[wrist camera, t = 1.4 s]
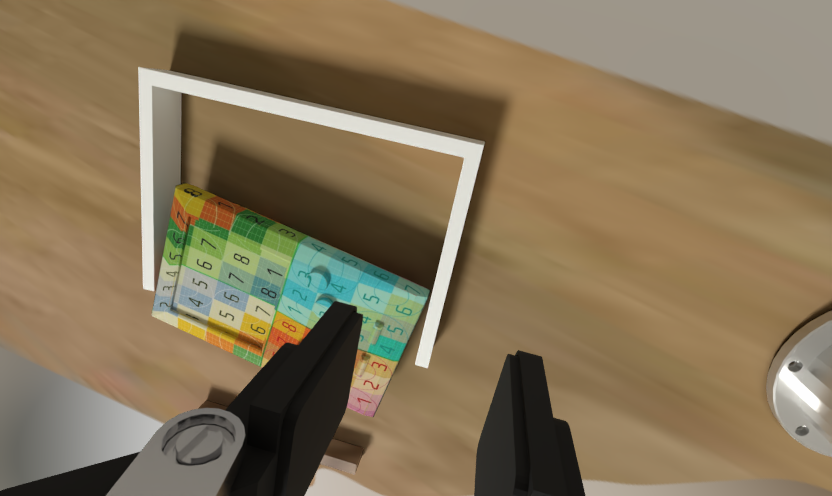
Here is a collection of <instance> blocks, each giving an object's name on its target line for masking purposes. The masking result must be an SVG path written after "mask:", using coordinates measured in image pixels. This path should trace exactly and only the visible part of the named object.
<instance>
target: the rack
mask: <svg viewBox="0 0 832 496" xmlns="http://www.w3.org/2000/svg"><path fill="white" fill-rule="evenodd" d="M138 70H139V117H140V164H141V212H142V259H143V289H147V290H151V291H156V289H157V283H158V278H159V273H160V267H161V262H162V256H163V251H164V246H165V240H166V235H167V229H168V224H169V219H170V213H171V208H172V202H173V197H174V192H175V186H176V185H179V184H181V102H182V93H186V94H190V95H195V96H199V97H203V98H208V99H212V100H216V101H221V102H225V103H229V104H234V105H238V106H242V107H247V108H251V109H256V110H260V111H264V112H269V113H273V114H277V115H282V116H286V117H290V118H295V119H299V120H303V121H308V122H312V123H316V124H321V125H325V126H329V127H334V128H338V129H342V130H347V131H351V132H355V133H360V134H364V135H368V136H373V137H377V138H381V139H386V140H390V141H394V142H399V143H403V144H407V145H412V146H416V147H420V148H425V149H429V150H433V151H438V152H442V153H447V154H451V155H455V156H460V157H464V162H463V167H462V171H461V175H460V179H459V183H458V187H457V192H456V196H455V200H454V204H453V208H452V212H451V217H450V221H449V225H448V229H447V233H446V237H445V242H444V246H443V250H442V254H441V258H440V262H439V267H438V271H437V275H436V279H435V283H434V287H433V292H432V296H431V300H430V304H429V308H428V312H427V317H426V321H425V325H424V329H423V333H422V337H421V342H420V346H419V350H418V354H417V358H416V362H415V365H418V366H421V367H425V368H428V365H429V361H430V357H431V353H432V349H433V345H434V341H435V337H436V333H437V329H438V325H439V321H440V318H441V314H442V310H443V306H444V302H445V298H446V294H447V290H448V286H449V282H450V278H451V274H452V270H453V266H454V262H455V258H456V254H457V250H458V246H459V242H460V239H461V235H462V231H463V227H464V223H465V219H466V215H467V211H468V207H469V203H470V199H471V195H472V191H473V187H474V183H475V179H476V175H477V171H478V167H479V163H480V160H481V156H482V152H483V148H484V144H485V141H480V140H476V139H471V138H467V137H463V136H458V135H454V134H449V133H445V132H440V131H436V130H431V129H427V128H423V127H418V126H414V125H409V124H405V123H400V122H396V121H392V120H387V119H383V118H378V117H374V116H369V115H365V114H361V113H356V112H352V111H347V110H343V109H338V108H334V107H330V106H325V105H321V104H316V103H312V102H307V101H303V100H299V99H294V98H290V97H285V96H281V95H276V94H272V93H268V92H263V91H259V90H254V89H250V88H245V87H241V86H237V85H232V84H228V83H223V82H219V81H214V80H210V79H205V78H201V77H197V76H192V75H188V74H183V73H179V72H174V71H170V70H161V69H151V68H142V67H138Z"/></svg>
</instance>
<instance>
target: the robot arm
mask: <svg viewBox="0 0 832 496" xmlns="http://www.w3.org/2000/svg"><path fill="white" fill-rule="evenodd" d="M362 322H363V314H360V313H357V306H353V305H349V304H346V303H342V302H338V301H334V302H333V303H332V305H331V306H330V307H329V308H328V310H327V311H326V312H325V313H324V314H323V316H322V317H321V318H320V319H319V321H318V322H317V323H316V324H315V325H314V327H313V328H312V329H311V330H310V332H309V333H308V334H307V335H306V336H305V338H304V339H303V340H302V341H301V343H300V344H299V345H296V344H292V343H289V342H288V343H285V344H284V345H282V346H281V347H280V349H279V350H278V351H277V352H276V353H275V354H274V355H273V357H272V358H271V359H270V360H269V361H268V362H267V363H266V364H265V366H264V367H263V368H262V369H261V370H260V371H259V372H258V373H257V375H256V376H255V377H254V378H253V379H252V380H251V381H250V383H249V384H248V385H247V386H246V387H245V388H244V389H243V390H242V392H241V393H240V394H239V395H238V396H237V397H236V398H235V400H234V401H233V402H232V403H231V404H230V405H229V406H228V407H227V409H226V410H222V409H217V408H201V409H194V410H190V411H187V412H184V413H182V414H179V415H177V416H175V417H174V418H172V419H170V420H169V421H167V422H166V423H165V424H164V425H163V426H162V427H161V428H160V429H159V430H157V432H156V433H155V434H154V435H153V437H152V438H151V439H150V441H149V442H148V443H147V444H146V446H145V447H144V448H143V449H142V451H141V452H138V453H134V454H131V455H127V456H123V457H120V458H116V459H112V460H109V461H105V462H102V463H98V464H94V465H91V466H87V467H84V468H80V469H76V470H73V471H69V472H66V473H62V474H59V475H55V476H51V477H47V478H44V479H40V480H37V481H33V482H30V483H26V484H22V485H18V486H15V487H11V488H8V489H5V490H2V491H0V496H304V495H305V493H306V491H307V489H308V487H309V485H310V483H311V481H312V479H313V477H314V475H315V473H316V471H317V469H318V467H319V465H320V463H321V461H322V458H323V456H324V454H325V452H326V450H327V448H328V446H329V444H330V442H331V440H332V438H333V436H334V434H335V432H336V430H337V428H338V426H339V424H340V422H341V420H342V418H343V415H344V413H345V410H346V407H347V404H348V399H349V394H350V388H351V383H352V377H353V372H354V366H355V361H356V355H357V350H358V344H359V339H360V333H361V328H362ZM766 391H767V399H768V403H769V406H770V408H771V411H772V413H773V415H774V416H775V418H776V419H777V420H778V422H779V423H780V424H781V426H782V427H783V428H784V429H785V430H786V431H787V432H788V433H789V434H790V436H792V437H793V438H794V439H795V440H797V441H798V442H800V443H801V444H802V445H804V446H805V447H807V448H809V449H811V450H813V451H816V452H818V453H820V454H822V455H826V456H830V457H832V311H829V312H827V313H825V314H823V315H821V316H819V317H818V318H816V319H814V320H812V321H810V322H809V323H807V324H806V325H805V326H803V327H802V328H801V329H799V330H798V331H797V332H795V333H794V334H793V335H792V336H791V337H790V338H789V340H788V341H787V342H786V343H785V344H784V345H783V346H782V347H781V349H780V350H779V352H778V353H777V355H776V356H775V358H774V359H773V362H772V365H771V367H770V370H769V372H768V377H767V385H766ZM474 496H585V492H584V488H583V483H582V479H581V475H580V470H579V466H578V462H577V457H576V453H575V448H574V444H573V440H572V435H571V431H570V427H569V425H568V423H567V422H566V421H563V420H560V419H556V418H553V414H552V409H551V403H550V398H549V392H548V387H547V381H546V376H545V370H544V365H543V360H542V357H541V356H537V355H534V354H530V353H526V352H523V351H519V350H518V351H517V353H516V355H515V356H514V355H511V354H508V355H507V357H506V360H505V363H504V366H503V369H502V372H501V375H500V378H499V381H498V384H497V387H496V390H495V393H494V397H493V400H492V403H491V406H490V409H489V412H488V415H487V418H486V421H485V424H484V427H483V430H482V433H481V436H480V440H479V444H478V448H477V456H476V475H475V493H474Z"/></svg>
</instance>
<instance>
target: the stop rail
mask: <svg viewBox="0 0 832 496" xmlns="http://www.w3.org/2000/svg"><path fill="white" fill-rule="evenodd" d="M201 408H217V409H222V410H226V409H227V407H226V406H223V405H220V404H216V403H213V402H210V401H207V400H206V401H205V402H204V403H203V404H202V405H201V406H200V407H199V408H198V409H201ZM362 451H363V448H361V447H358V446H355V445H351V444H348V443H345V442H342V441H338V440H335V439H332V440H331V442H330V444H329V446H328V448H327V450H326V452H325V454H324V456H323V458H322V461H321V463H320V464H322V465H325V466H328V467H332V468H335V469H338V470H341V471H344V472H348V473H351V474H354V475H355V473H356V470H357V467H358V465H359V462H360V460H361V456H362Z"/></svg>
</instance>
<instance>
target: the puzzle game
mask: <svg viewBox="0 0 832 496" xmlns="http://www.w3.org/2000/svg"><path fill="white" fill-rule="evenodd" d="M429 294H430V290H429V289H427V288H425V287H423V286H421V285H418V284H416V283H414V282H412V281H409V280H407V279H405V278H403V277H400V276H398V275H396V274H394V273H391V272H389V271H387V270H385V269H382V268H380V267H378V266H376V265H373V264H371V263H369V262H367V261H364V260H362V259H360V258H358V257H355V256H353V255H351V254H348V253H346V252H344V251H342V250H339V249H337V248H335V247H333V246H330V245H328V244H326V243H324V242H321V241H319V240H317V239H315V238H312V237H310V236H308V235H306V234H303V233H301V232H299V231H297V230H294V229H292V228H290V227H288V226H285V225H283V224H281V223H279V222H276V221H274V220H272V219H269V218H267V217H265V216H263V215H260V214H258V213H256V212H254V211H251V210H249V209H247V208H245V207H242V206H240V205H238V204H234V203H232V202H230V201H227V200H225V199H223V198H221V197H218V196H216V195H214V194H212V193H209V192H207V191H205V190H202V189H200V188H198V187H196V186H193V185H190V184H187V183H183V184H179V185H176V186H175V192H174V197H173V202H172V208H171V213H170V219H169V224H168V229H167V235H166V240H165V246H164V251H163V256H162V262H161V267H160V273H159V278H158V283H157V289H156V294H155V299H154V305H153V310H152V316H153V317H155V318H157V319H160V320H162V321H164V322H166V323H168V324H170V325H173V326H175V327H177V328H179V329H181V330H183V331H185V332H188V333H190V334H192V335H194V336H196V337H198V338H200V339H202V340H205V341H207V342H209V343H211V344H213V345H215V346H217V347H220V348H222V349H224V350H226V351H228V352H230V353H232V354H234V355H237V356H239V357H241V358H243V359H245V360H247V361H249V362H252V363H254V364H256V365H258V366H260V367H262V368H263V367H264V366H265V364H266V363H267V362H268V361H269V360H270V359H271V358H272V357H273V355H274V354H275V353H276V352H277V351H278V350H279V349H280V347H281V346H282V345H284V344H285V343H288V342H289V343H292V344H296V345H299V344H300V343H301V341H302V340H303V339H304V338H305V336H306V335H307V334H308V333H309V332H310V330H311V329H312V328H313V327H314V325H315V324H316V323H317V322H318V321H319V319H320V318H321V317H322V316H323V314H324V313H325V312H326V311H327V310H328V308H329V307H330V306H331V305H332V303H333V302H334V301H338V302H342V303H346V304H349V305H353V306H357V313H360V314H363V322H362V328H361V333H360V339H359V344H358V350H357V355H356V361H355V366H354V372H353V377H352V383H351V388H350V394H349V399H348V404H347V407H348V408H350V409H352V410H354V411H356V412H358V413H361V414H363V415H366V416H371V417H374V415H375V413H376V411H377V409H378V406H379V404H380V402H381V400H382V398H383V396H384V393H385V391H386V389H387V387H388V385H389V382H390V380H391V378H392V376H393V374H394V372H395V369H396V367H397V365H398V363H399V361H400V358H401V356H402V354H403V352H404V350H405V348H406V345H407V343H408V341H409V339H410V337H411V334H412V332H413V330H414V328H415V326H416V324H417V321H418V319H419V317H420V315H421V313H422V310H423V308H424V306H425V304H426V302H427V300H428V297H429Z"/></svg>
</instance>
